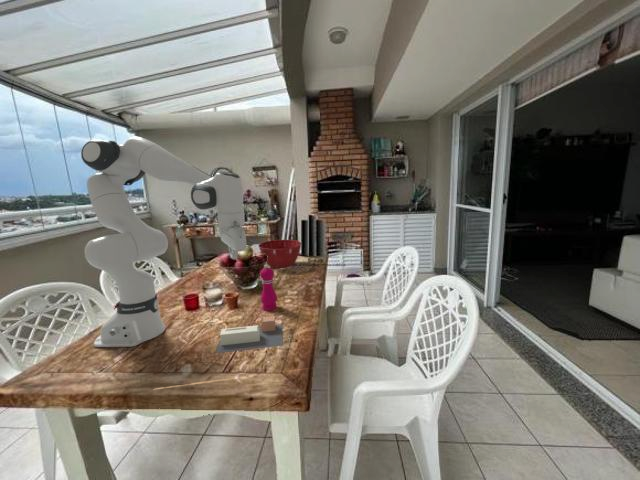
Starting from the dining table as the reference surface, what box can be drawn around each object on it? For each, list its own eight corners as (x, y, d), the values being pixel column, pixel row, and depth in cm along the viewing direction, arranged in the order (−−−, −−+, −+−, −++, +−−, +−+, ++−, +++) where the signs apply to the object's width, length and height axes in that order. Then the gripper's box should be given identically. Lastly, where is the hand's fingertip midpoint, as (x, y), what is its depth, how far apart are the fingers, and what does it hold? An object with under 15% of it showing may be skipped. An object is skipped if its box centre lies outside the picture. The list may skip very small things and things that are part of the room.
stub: (261, 332, 106) (261, 321, 105) (262, 326, 109) (261, 316, 109) (275, 330, 106) (274, 320, 106) (275, 325, 110) (274, 315, 109)
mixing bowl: (311, 264, 193) (310, 242, 190) (277, 275, 173) (276, 250, 170) (284, 258, 213) (283, 238, 210) (251, 267, 192) (249, 244, 189)
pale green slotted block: (221, 345, 98) (219, 334, 97) (223, 339, 102) (221, 328, 101) (259, 341, 100) (258, 330, 99) (260, 335, 103) (259, 324, 103)
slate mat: (215, 354, 93) (215, 353, 93) (223, 331, 108) (223, 330, 108) (283, 346, 96) (283, 345, 96) (281, 325, 111) (281, 324, 111)
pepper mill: (274, 311, 123) (271, 267, 119) (258, 311, 125) (255, 267, 121) (280, 304, 130) (277, 262, 126) (265, 304, 131) (261, 262, 128)
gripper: (250, 223, 92) (252, 264, 95) (232, 216, 109) (234, 251, 112) (230, 225, 89) (233, 267, 92) (215, 217, 105) (217, 253, 108)
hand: (233, 258), depth 102 cm, fingers closed
